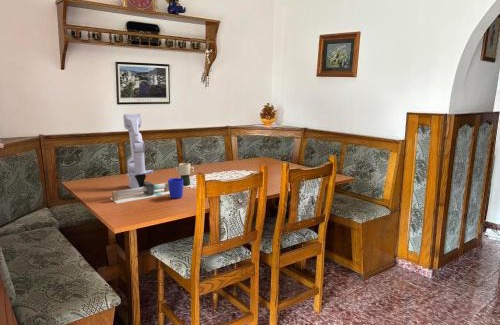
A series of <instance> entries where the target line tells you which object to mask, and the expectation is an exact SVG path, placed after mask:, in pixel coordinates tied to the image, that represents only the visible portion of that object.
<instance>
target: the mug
mask: <svg viewBox="0 0 500 325" xmlns="http://www.w3.org/2000/svg"><path fill="white" fill-rule="evenodd" d="M167 182H168V185H169V193H170V194H169V196H170V198H171V199H176V200H177V199H181V198H182V197H183V193H184V185H183V179H181V177H174V178H173V177H172V178H169V179H168V180H167Z"/></svg>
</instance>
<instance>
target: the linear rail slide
mask: <svg viewBox="0 0 500 325" xmlns="http://www.w3.org/2000/svg"><path fill="white" fill-rule="evenodd" d="M153 186H154V195H147V194H145V193H144V192H145V191H147V186H145V187H138V188H127V189H121V190H111V197H109V199H110V200H111V201H112V202H114V203H115V204H116V205H118V204H124V203H129V202H135V201H141V200H145V199H151V198H156V197H157V198H158V197H162V196H168V195H169V196H170V193H169V185H168V181H167V182H163V183H157V184H153Z"/></svg>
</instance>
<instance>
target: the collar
mask: <svg viewBox="0 0 500 325" xmlns="http://www.w3.org/2000/svg"><path fill="white" fill-rule="evenodd" d="M153 185H154V183H152V182H150V181H144V183H143V187H145V186H147V191H145V192H144V193H145V194H147V195H154V186H153Z"/></svg>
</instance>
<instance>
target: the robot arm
mask: <svg viewBox="0 0 500 325" xmlns="http://www.w3.org/2000/svg"><path fill="white" fill-rule="evenodd" d="M122 117H123V126H124V129H125V130H127V131H128V136H129V144H130V156H131V157H129V158H128V159H127V161H126V164H127V165H126V167H127V173H126V177H127V178H128V185H127V186H128V187H129V189H132V188H138V187H143V183H144V182H145V181H146V178H147V175H151V174H154V170H153V169H146V164H145V163H146V162H145V153H146V145H145V142H144V140H143V137H142V133H140V130H139V129H141V126H142V121H143V120H142V115H141V113H127V114H126V113H124V114H123V116H122Z"/></svg>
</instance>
